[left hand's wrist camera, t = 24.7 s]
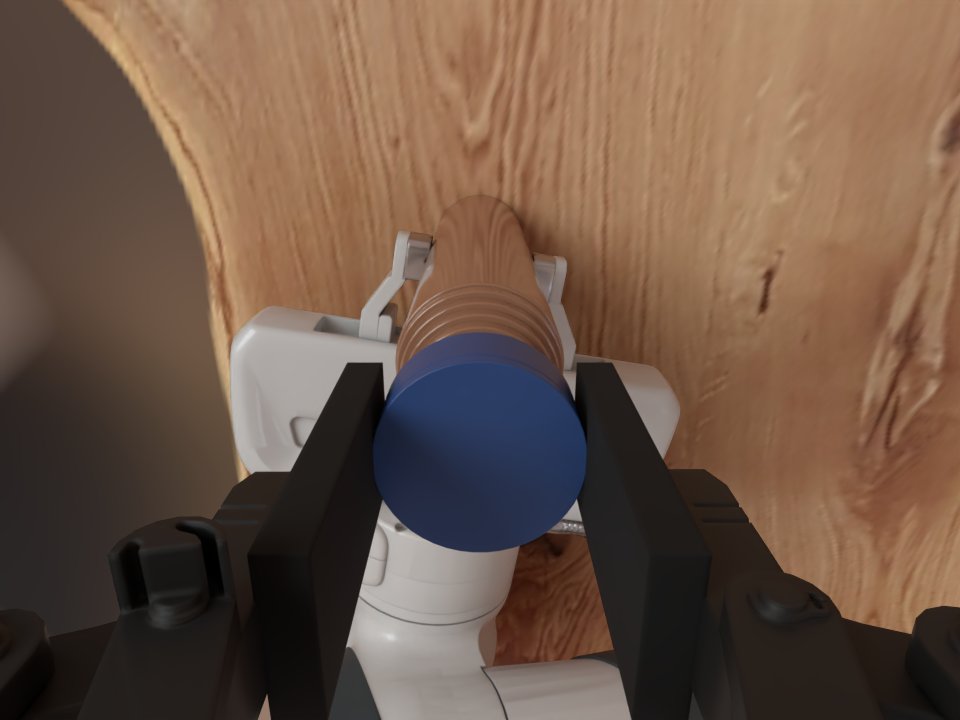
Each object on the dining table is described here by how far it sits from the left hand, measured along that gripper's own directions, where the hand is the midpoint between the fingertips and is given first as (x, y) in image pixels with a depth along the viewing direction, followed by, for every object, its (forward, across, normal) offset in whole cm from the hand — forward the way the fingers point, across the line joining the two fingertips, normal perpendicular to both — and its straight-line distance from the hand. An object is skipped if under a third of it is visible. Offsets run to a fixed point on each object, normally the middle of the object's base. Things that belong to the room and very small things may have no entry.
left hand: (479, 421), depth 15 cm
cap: (-1, 0, 0) cm, 1 cm away
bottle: (+22, 0, 0) cm, 22 cm away
